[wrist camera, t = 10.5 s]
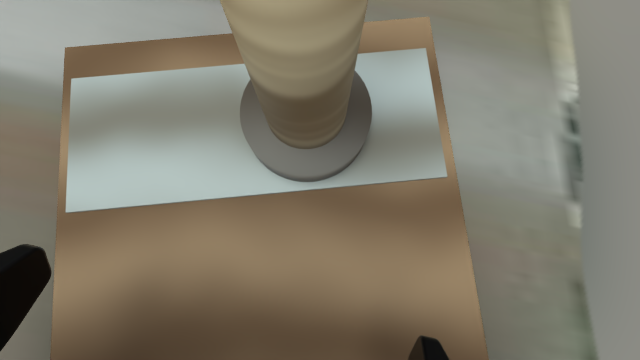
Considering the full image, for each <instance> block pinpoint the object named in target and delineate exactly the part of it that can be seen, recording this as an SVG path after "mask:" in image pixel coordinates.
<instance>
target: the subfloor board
mask: <svg viewBox="0 0 640 360" xmlns="http://www.w3.org/2000/svg"><path fill="white" fill-rule="evenodd" d="M355 71H356V72H357V73H358V75H359V76H360V77H361V79H362V80H363V82H364V83H365V85H366V87H367V90H368V92H369V95H370V99H371V105H372V120H371V125H370V129H369V132H368V135H367V137H366V140H365V142H364V145H363V147H362V149H361V151H360V153H359V155H358V156H357V157H356V159H355V160H354V161H353V162H352V163H351V164H350V165H349V166H348V167H347V168H346V169H345V170H343V171H342V172H340V173H339V174H337V175H335V176H333V177H330V178H328V179H325V180H321V181H315V182H298V181H292V180H288V179H285V178H283V177H280V176H278V175H277V174H275V173H273V172H272V171H270V170H269V169H268V168H266V167H265V166H264V165H263V164H262V163H261V162H260V161H259V159H258V158H257V157H256V155H255V154H254V152H253V151H252V149H251V147H250V146H249V144H248V142H247V140H246V139H245V136H244V134H243V131H242V127H241V123H240V104H241V99H242V96H243V92H244V90H245V88H246V86H247V84H248V82H249V81H250V76H249V74H248V71H247V69H246V66H245V64H244V61H243V58H242V56H241V53H240V51H239V48H238V45H237V43H236V40H235V38H234V35H233V33H232V34H220V35H208V36H196V37H185V38H173V39H161V40H149V41H138V42H126V43H114V44H102V45H90V46H79V47H67V48H65V58H64V80H63V101H62V122H61V143H60V164H59V185H58V206H57V227H56V248H55V270H54V291H53V312H52V333H51V354H50V360H408V357H409V354H410V352H411V350H412V348H413V346H414V344H415V342H416V340H417V338H418V337H419V336H420V335H424V336H429V337H433V338H436V339H437V340H439V342H440V343H441V345H442V347H443V349H444V350H445V352H446V354H447V356H448V358H449V359H450V360H489V359H488V353H487V347H486V341H485V336H484V330H483V324H482V318H481V313H480V307H479V301H478V295H477V289H476V284H475V278H474V272H473V266H472V261H471V255H470V249H469V243H468V238H467V232H466V226H465V220H464V215H463V209H462V203H461V197H460V192H459V186H458V180H457V174H456V169H455V163H454V157H453V151H452V146H451V140H450V134H449V128H448V123H447V117H446V111H445V105H444V100H443V94H442V88H441V82H440V77H439V71H438V65H437V59H436V54H435V48H434V42H433V36H432V31H431V25H430V19H429V17H420V18H409V19H397V20H385V21H373V22H364V24H363V29H362V34H361V40H360V45H359V50H358V55H357V60H356V66H355Z"/></svg>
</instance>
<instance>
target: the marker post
mask: <svg viewBox="0 0 640 360" xmlns="http://www.w3.org/2000/svg"><path fill="white" fill-rule="evenodd" d="M220 2H221V4H222V7H223V9H224V12H225V15H226V17H227V20H228V22H229V25H230V27H231V30H232V33H233V35H234V38H235V40H236V43H237V45H238V48H239V51H240V53H241V56H242V58H243V61H244V64H245V66H246V69H247V71H248V74H249V76H250V81H249V82H248V84H247V86H246V88H245V90H244V92H243V96H242V99H241V104H240V123H241V127H242V131H243V134H244V136H245V139H246V140H247V142H248V144H249V146H250V147H251V149H252V151H253V152H254V154H255V155H256V157H257V158H258V159H259V161H260V162H261V163H262V164H263V165H264V166H265V167H266V168H268V169H269V170H270V171H272V172H273V173H275V174H277V175H278V176H280V177H283V178H285V179H288V180H292V181H298V182H315V181H321V180H325V179H328V178H330V177H333V176H335V175H337V174H339V173H340V172H342V171H343V170H345V169H346V168H347V167H348V166H349V165H350V164H351V163H352V162H353V161H354V160H355V159H356V157H357V156H358V155H359V153H360V151H361V149H362V147H363V145H364V142H365V140H366V137H367V135H368V132H369V129H370V125H371V120H372V105H371V99H370V95H369V92H368V90H367V87H366V85H365V83H364V82H363V80H362V79H361V77H360V76H359V75H358V73H357V72H356V71H355V66H356V60H357V55H358V50H359V45H360V40H361V34H362V29H363V24H364V19H365V14H366V8H367V3H368V0H220Z"/></svg>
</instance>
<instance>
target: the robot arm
mask: <svg viewBox="0 0 640 360" xmlns="http://www.w3.org/2000/svg"><path fill="white" fill-rule="evenodd" d="M50 277H51V268H50V265H49V262H48V259H47V256H46V253H45V251H44V249H43V248H41V247H38V246H34V245H29V244H23V245H19V246H17V247H14V248H12V249H9V250H7V251H4V252H2V253H0V351H1V350H2V349H3V347H4V346H5V345H6V343H7V342H8V341H9V339H10V338H11V337H12V335H13V334H14V332H15V331H16V330H17V328H18V327H19V325H20V324H21V322H22V321H23V319H24V318H25V316H26V315H27V313H28V312H29V310H30V309H31V307H32V306H33V304H34V303H35V301H36V300H37V298H38V297H39V295H40V294H41V292H42V291H43V289H44V288H45V286H46V285H47V283H48V281H49V279H50ZM408 360H450V359H449V358H448V356H447V354H446V352H445V350H444V349H443V347H442V345H441V343H440V342H439V340H437V339H436V338H433V337H429V336H424V335H420V336H419V337H418V338H417V340H416V342H415V344H414V346H413V348H412V350H411V352H410V354H409V357H408Z"/></svg>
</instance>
